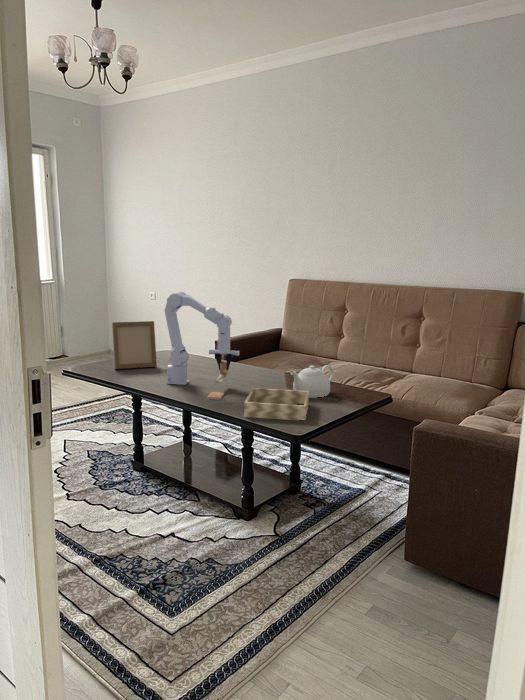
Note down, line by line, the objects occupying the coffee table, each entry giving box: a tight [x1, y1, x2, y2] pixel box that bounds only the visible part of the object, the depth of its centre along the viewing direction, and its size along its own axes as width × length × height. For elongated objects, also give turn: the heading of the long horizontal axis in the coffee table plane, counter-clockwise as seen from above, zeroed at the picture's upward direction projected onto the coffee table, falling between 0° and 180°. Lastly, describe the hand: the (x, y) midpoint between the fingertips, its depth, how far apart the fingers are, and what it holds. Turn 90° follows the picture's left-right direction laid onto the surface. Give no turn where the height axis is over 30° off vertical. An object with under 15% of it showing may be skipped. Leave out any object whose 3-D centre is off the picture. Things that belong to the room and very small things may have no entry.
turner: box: [215, 360, 229, 384], centre depth 254 cm, size 3×13×6 cm, turn 172°
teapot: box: [290, 364, 335, 399], centre depth 251 cm, size 19×18×14 cm
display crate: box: [243, 387, 310, 421], centre depth 225 cm, size 24×22×6 cm
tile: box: [206, 391, 225, 401], centre depth 243 cm, size 6×2×8 cm
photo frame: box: [111, 320, 158, 370], centre depth 296 cm, size 15×22×25 cm
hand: (223, 369), depth 259 cm, fingers closed on turner, 3 cm apart
